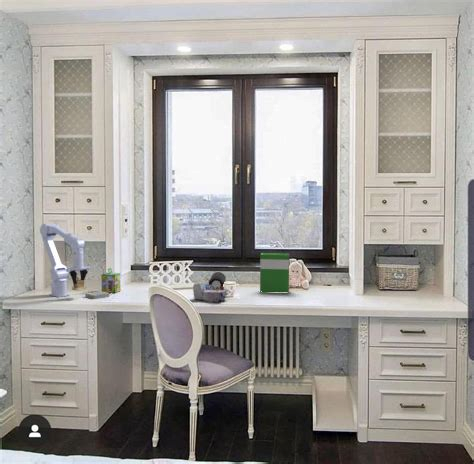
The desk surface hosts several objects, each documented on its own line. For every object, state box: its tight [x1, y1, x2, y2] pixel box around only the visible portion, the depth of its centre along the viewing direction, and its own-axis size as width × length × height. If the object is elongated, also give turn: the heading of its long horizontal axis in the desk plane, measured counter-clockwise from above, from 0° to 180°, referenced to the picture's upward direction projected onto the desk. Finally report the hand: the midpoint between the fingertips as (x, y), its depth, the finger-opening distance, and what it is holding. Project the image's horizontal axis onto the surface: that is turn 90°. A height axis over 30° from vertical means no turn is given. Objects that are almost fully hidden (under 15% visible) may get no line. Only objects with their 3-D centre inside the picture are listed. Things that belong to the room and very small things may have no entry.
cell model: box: [192, 281, 230, 303], centre depth 338 cm, size 13×11×20 cm
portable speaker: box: [207, 271, 227, 289], centre depth 373 cm, size 26×10×10 cm, turn 178°
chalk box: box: [100, 267, 122, 294], centre depth 362 cm, size 9×9×15 cm
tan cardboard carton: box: [71, 279, 87, 292], centre depth 340 cm, size 7×5×6 cm
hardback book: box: [259, 252, 290, 293], centre depth 365 cm, size 18×7×24 cm, turn 83°
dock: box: [85, 290, 110, 300], centre depth 346 cm, size 10×10×2 cm
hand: (78, 283), depth 340 cm, fingers closed on tan cardboard carton, 4 cm apart
